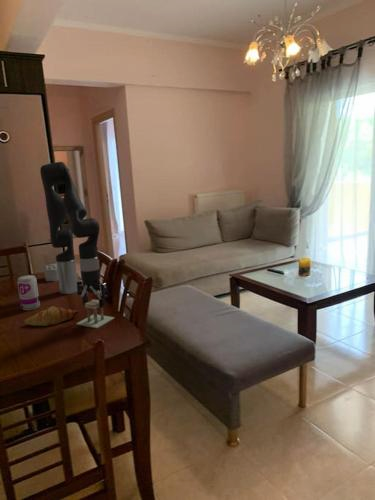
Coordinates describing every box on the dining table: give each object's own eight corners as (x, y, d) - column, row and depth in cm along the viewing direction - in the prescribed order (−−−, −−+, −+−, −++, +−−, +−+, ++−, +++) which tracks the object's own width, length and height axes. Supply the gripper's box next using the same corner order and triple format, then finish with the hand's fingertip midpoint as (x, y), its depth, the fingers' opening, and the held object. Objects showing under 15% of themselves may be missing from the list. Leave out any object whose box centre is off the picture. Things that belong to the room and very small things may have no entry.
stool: (95, 317, 158) (93, 299, 156) (104, 319, 156) (103, 300, 154) (86, 321, 154) (84, 303, 152) (96, 323, 151) (94, 305, 150)
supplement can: (33, 311, 170) (29, 279, 167) (17, 310, 172) (12, 279, 169) (43, 304, 178) (39, 274, 175) (28, 304, 180) (23, 274, 177)
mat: (94, 314, 162) (94, 314, 162) (114, 318, 157) (114, 317, 157) (76, 324, 153) (76, 323, 153) (97, 328, 148) (97, 327, 148)
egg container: (63, 275, 231) (61, 261, 230) (64, 280, 219) (62, 266, 218) (45, 277, 228) (43, 263, 226) (45, 282, 216) (43, 268, 214)
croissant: (26, 336, 152) (23, 323, 147) (25, 318, 159) (22, 305, 154) (79, 325, 159) (78, 313, 154) (76, 308, 166) (75, 296, 161)
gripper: (109, 267, 150) (113, 305, 154) (83, 264, 157) (87, 301, 160) (97, 271, 144) (101, 311, 147) (70, 269, 150) (74, 307, 153)
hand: (94, 306), depth 153 cm, fingers open, 8 cm apart
